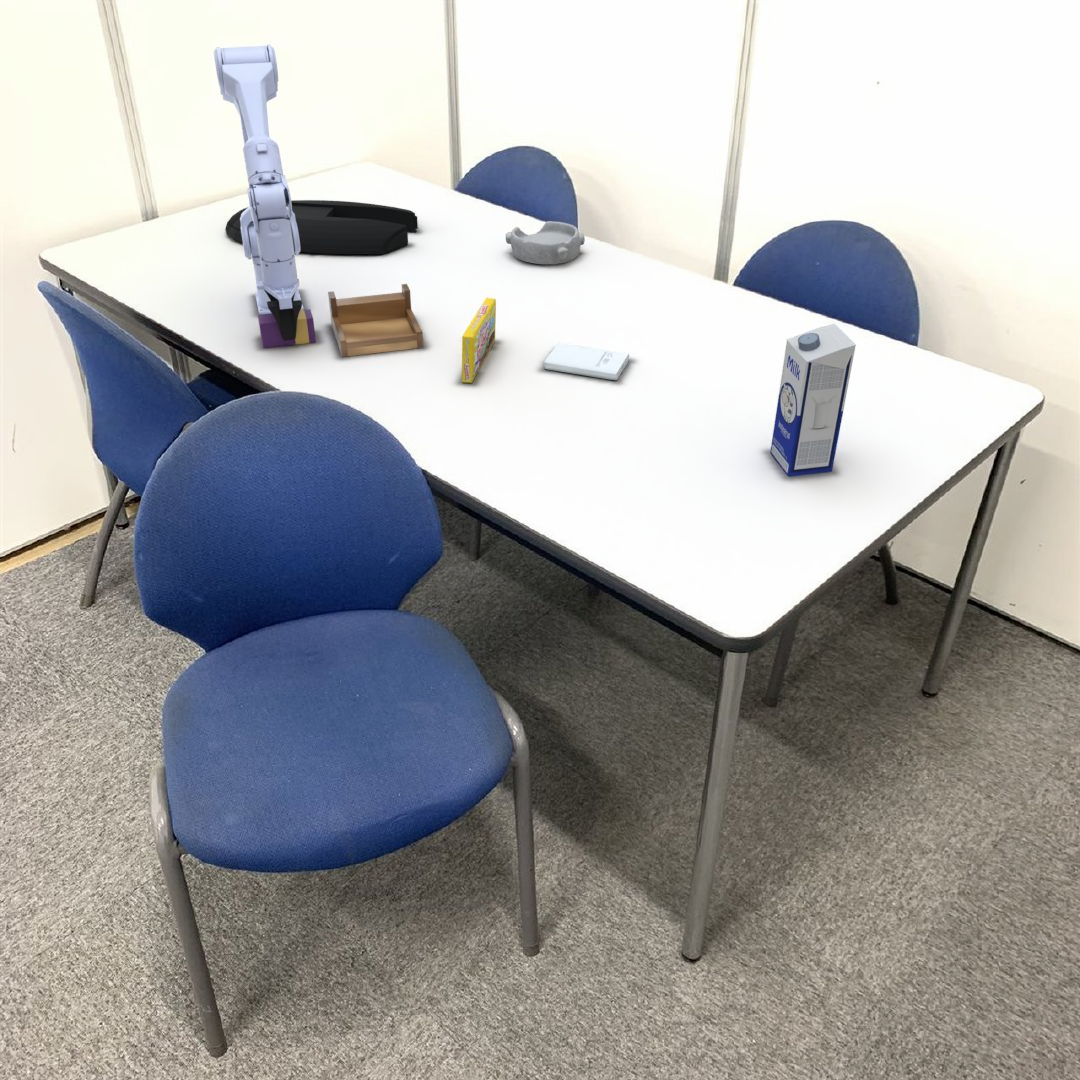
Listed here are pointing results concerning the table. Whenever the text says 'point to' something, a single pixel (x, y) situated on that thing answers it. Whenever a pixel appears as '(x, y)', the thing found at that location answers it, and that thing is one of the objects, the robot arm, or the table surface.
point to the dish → (547, 243)
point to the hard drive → (586, 361)
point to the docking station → (344, 227)
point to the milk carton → (812, 400)
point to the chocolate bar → (272, 333)
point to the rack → (375, 323)
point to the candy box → (478, 340)
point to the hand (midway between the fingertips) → (287, 332)
